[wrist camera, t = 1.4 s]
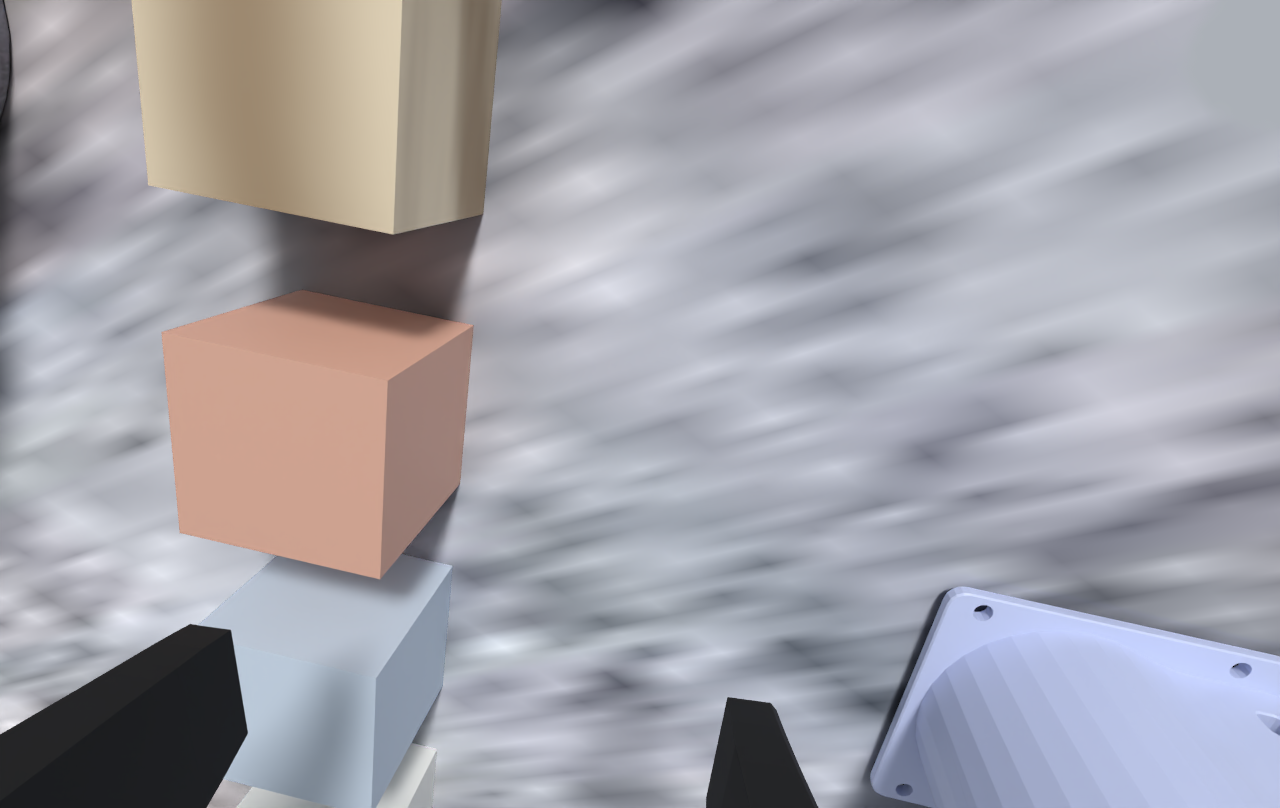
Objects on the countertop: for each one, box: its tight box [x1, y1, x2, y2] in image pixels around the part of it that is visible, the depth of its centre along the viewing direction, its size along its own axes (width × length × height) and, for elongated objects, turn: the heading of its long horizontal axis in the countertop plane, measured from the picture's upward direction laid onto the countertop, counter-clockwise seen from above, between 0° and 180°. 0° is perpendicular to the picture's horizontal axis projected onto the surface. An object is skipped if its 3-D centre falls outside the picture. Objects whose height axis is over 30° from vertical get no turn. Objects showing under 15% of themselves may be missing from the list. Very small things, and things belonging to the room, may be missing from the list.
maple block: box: [132, 0, 502, 234], centre depth 14 cm, size 5×5×5 cm
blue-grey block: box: [198, 554, 453, 808], centre depth 20 cm, size 5×5×5 cm
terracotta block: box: [162, 290, 474, 579], centre depth 17 cm, size 5×5×5 cm
